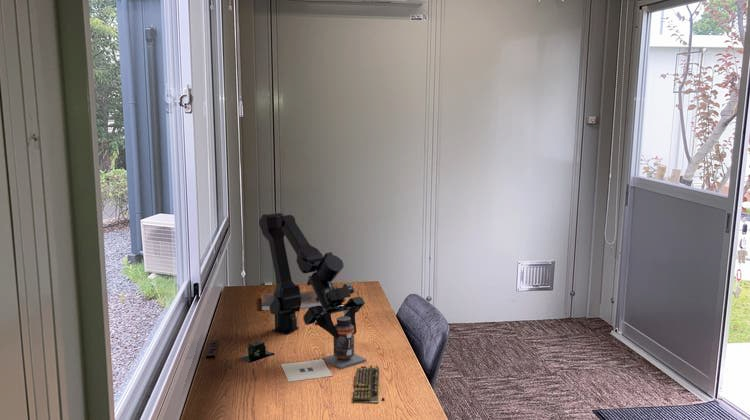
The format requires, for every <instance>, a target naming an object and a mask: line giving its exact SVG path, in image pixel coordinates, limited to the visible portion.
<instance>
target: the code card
mask: <svg viewBox="0 0 750 420" xmlns="http://www.w3.org/2000/svg"><path fill="white" fill-rule="evenodd" d="M281 368H282V370H283V372H284V374H285V377H286V379H287V381H288V383H291V382H299V381H305V380H314V379H322V378H323V379H324V378H328V377H333V374H332V372H331V371H330V368H328V365H327V364H326V362H325V360H323V358H321V359H315V360H307V361H306V360H305V361H300V362H299V361H298V362H290V363H289V362H288V363H283V364H282V363H281Z"/></svg>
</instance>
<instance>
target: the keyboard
mask: <svg viewBox="0 0 750 420" xmlns="http://www.w3.org/2000/svg"><path fill="white" fill-rule="evenodd" d="M354 381H355V382H354V391H353V396H352V398H353V399H352V404H378V403H379V388H380V387H379V385H380V383H379V381H380V367H379V365H375V367H373V365H372V364H370V365H369V367H367V365H361V366H360V367H357V368H356V373H355V380H354ZM386 391H387V390H386ZM386 391H384V394H385V393H387V392H386ZM381 401H385V397H382V398H381Z"/></svg>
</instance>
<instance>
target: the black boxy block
mask: <svg viewBox="0 0 750 420" xmlns="http://www.w3.org/2000/svg"><path fill="white" fill-rule="evenodd" d="M247 351H248V352H247V355H243V356H241V357H238V359H239V360H241V361H243V362H245V363H248V364H251V363H254V362H257V361H260V360H262V359H265V358H269V357H273V356H275V355H276V353H273V352H271V351H268V350H267V349H266V344H265V342H264V341H261V340H256V341H254V342H253V341H252V342H249V343H248V346H247Z"/></svg>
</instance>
